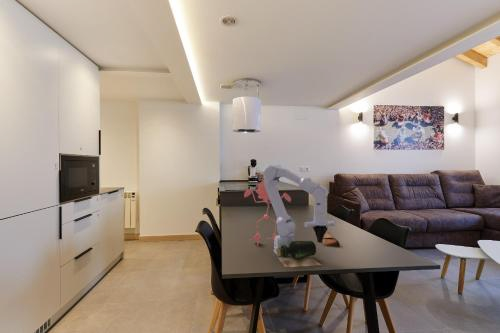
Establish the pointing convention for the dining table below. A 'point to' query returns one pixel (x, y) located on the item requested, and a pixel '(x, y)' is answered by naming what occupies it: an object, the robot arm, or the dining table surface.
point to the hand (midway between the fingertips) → (319, 242)
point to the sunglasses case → (330, 240)
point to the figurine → (265, 197)
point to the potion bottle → (297, 249)
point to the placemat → (298, 262)
